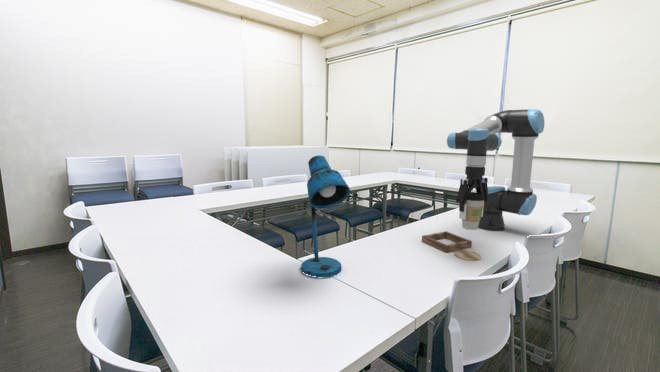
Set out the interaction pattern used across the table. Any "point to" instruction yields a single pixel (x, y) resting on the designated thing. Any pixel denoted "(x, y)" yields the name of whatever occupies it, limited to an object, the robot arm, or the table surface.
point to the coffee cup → (473, 211)
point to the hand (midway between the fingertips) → (471, 217)
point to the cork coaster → (468, 255)
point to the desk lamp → (323, 193)
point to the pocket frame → (431, 240)
